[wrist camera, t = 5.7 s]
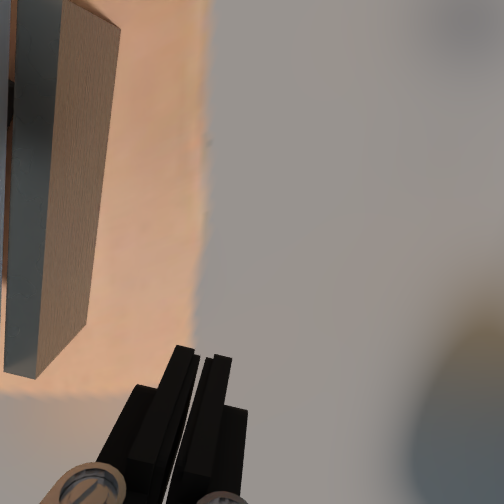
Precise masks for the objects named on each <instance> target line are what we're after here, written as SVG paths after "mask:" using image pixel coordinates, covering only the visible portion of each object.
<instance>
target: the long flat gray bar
mask: <svg viewBox="0 0 504 504" xmlns="http://www.w3.org/2000/svg"><path fill="white" fill-rule="evenodd" d="M120 32H121V29H120V28H118V27H116V26H114V25H112V24H110V23H109V22H107V21H105V20H103V19H101V18H100V17H98V16H96V15H94V14H92V13H90V12H89V11H87V10H85V9H83V8H81V7H80V6H78V5H76V4H74V3H72V2H71V1H69V0H18V3H17V29H16V56H15V82H14V109H13V136H12V162H11V189H10V215H9V242H8V268H7V295H6V321H5V348H4V372H6V373H10V374H14V375H19V376H23V377H27V378H31V379H36V378H37V377H38V376H39V375H40V374H41V373H42V372H43V371H44V370H45V369H46V367H47V366H48V365H49V364H50V363H51V362H52V361H53V360H54V359H55V358H56V357H57V355H58V354H59V353H60V352H61V351H62V350H63V349H64V348H65V347H66V346H67V345H68V344H69V342H70V341H71V340H72V339H73V338H74V337H75V336H76V335H77V334H78V333H79V332H80V330H81V329H82V328H83V327H84V326H85V325H86V320H87V312H88V303H89V295H90V286H91V278H92V269H93V261H94V252H95V244H96V235H97V227H98V218H99V210H100V201H101V193H102V185H103V176H104V168H105V159H106V151H107V142H108V134H109V125H110V117H111V108H112V100H113V91H114V83H115V74H116V66H117V58H118V49H119V41H120Z"/></svg>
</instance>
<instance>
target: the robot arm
mask: <svg viewBox="0 0 504 504" xmlns="http://www.w3.org/2000/svg"><path fill="white" fill-rule="evenodd" d="M194 351H195V349H192V348H188V347H184V346H180V345H176V347H175V349H174V352H173V354H172V356H171V359H170V361H169V363H168V365H167V368H166V370H165V372H164V375H163V377H162V379H161V382H160V384H159V386H158V388H157V389H156V388H152V387H147V386H143V385H139V384H137V385H136V386H135V387H134V389H133V391H132V393H131V395H130V397H129V399H128V401H127V402H126V404H125V406H124V408H123V410H122V412H121V414H120V416H119V418H118V420H117V422H116V424H115V425H114V427H113V429H112V431H111V433H110V435H109V437H108V439H107V441H106V443H105V445H104V447H103V448H102V450H101V453H100V454H99V456H98V458H97V460H96V462H90V463H85V464H82V465H79V466H76V467H74V468H72V469H71V470H69V471H67V472H66V473H65V474H64V475H63V476H62V477H61V478H60V479H59V480H58V481H57V482H56V484H55V485H54V486H53V487H52V489H51V490H50V491H49V492H48V493H47V495H46V496H45V497H44V499H43V500H42V501H41V502H40V504H162V502H163V499H164V495H165V492H166V489H167V485H168V482H169V479H170V475H171V472H172V468H173V465H174V461H175V458H176V455H177V451H178V448H179V445H180V441H181V438H182V434H183V430H184V426H185V422H186V418H187V413H188V409H189V405H190V400H191V396H192V391H193V387H194V383H195V378H196V374H197V370H198V365H199V361H200V356H199V355H195V354H194ZM231 362H232V358H230V357H225V356H221V355H217V354H214V358H213V359H212V358H208V357H206V359H205V363H204V367H203V370H202V373H201V377H200V380H199V383H198V387H197V390H196V394H195V397H194V401H193V404H192V408H191V411H190V414H189V418H188V421H187V425H186V428H185V432H184V435H183V439H182V442H181V446H180V449H179V452H178V456H177V459H176V463H175V467H174V471H173V474H172V479H171V483H170V488H169V492H168V496H167V501H166V504H248V503H247V502H246V501H245V500H244V499H243V498H241V497H240V490H241V480H242V470H243V459H244V449H245V439H246V427H247V417H248V411H247V410H244V409H240V408H236V407H232V406H227V405H224V401H225V396H226V390H227V385H228V379H229V374H230V368H231Z"/></svg>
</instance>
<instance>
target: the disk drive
mask: <svg viewBox="0 0 504 504" xmlns="http://www.w3.org/2000/svg"><path fill="white" fill-rule="evenodd" d="M13 109H14V82H12V81H11V80H9V79H8V107H7V129H8V127H9V126H10V122H11V120H12V117H13Z"/></svg>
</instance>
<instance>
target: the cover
mask: <svg viewBox="0 0 504 504" xmlns="http://www.w3.org/2000/svg"><path fill="white" fill-rule="evenodd" d="M10 15H11V0H0V321H1V290H2V260H3V229H4V199H5V168H6V137H7V107H8V76H9V46H10Z"/></svg>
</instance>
